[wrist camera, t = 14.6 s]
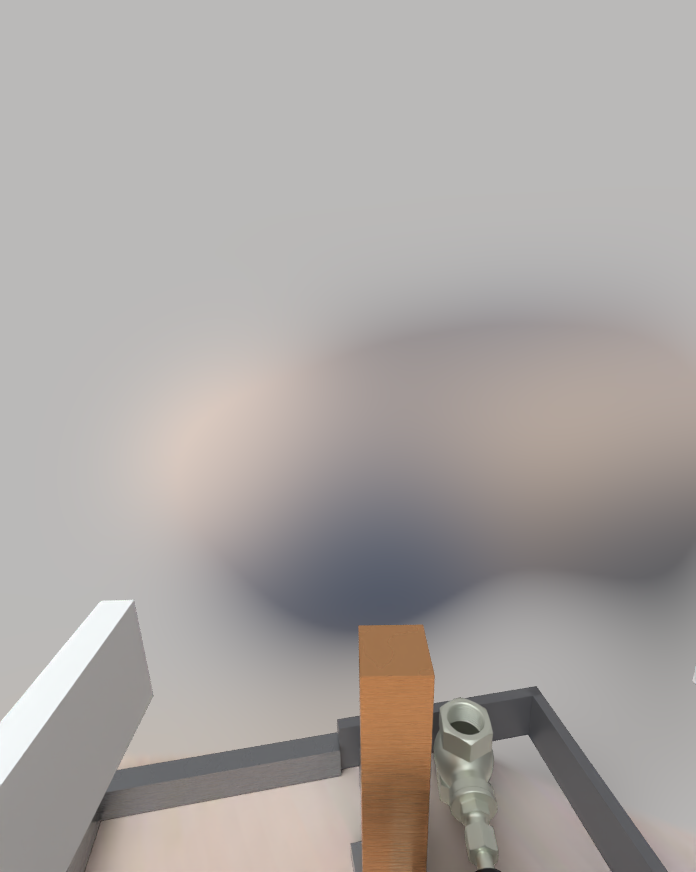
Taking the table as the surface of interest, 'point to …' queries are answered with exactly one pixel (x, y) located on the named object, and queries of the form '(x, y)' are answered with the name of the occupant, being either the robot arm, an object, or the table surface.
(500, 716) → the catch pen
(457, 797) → the valve
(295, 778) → the slot rails
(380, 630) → the brown wooden block
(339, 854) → the table surface
